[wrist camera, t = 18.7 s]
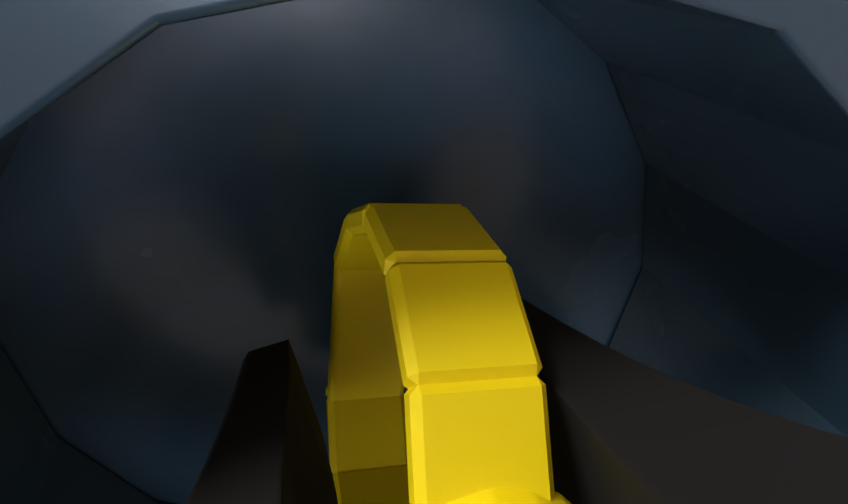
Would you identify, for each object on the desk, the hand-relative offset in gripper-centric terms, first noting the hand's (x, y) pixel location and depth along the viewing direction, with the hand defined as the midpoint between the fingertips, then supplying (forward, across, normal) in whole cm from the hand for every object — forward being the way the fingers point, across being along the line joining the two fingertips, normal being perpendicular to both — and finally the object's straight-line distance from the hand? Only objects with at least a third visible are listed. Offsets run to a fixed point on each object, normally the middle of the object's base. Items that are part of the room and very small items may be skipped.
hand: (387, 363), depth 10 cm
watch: (+2, 0, 0) cm, 2 cm away
